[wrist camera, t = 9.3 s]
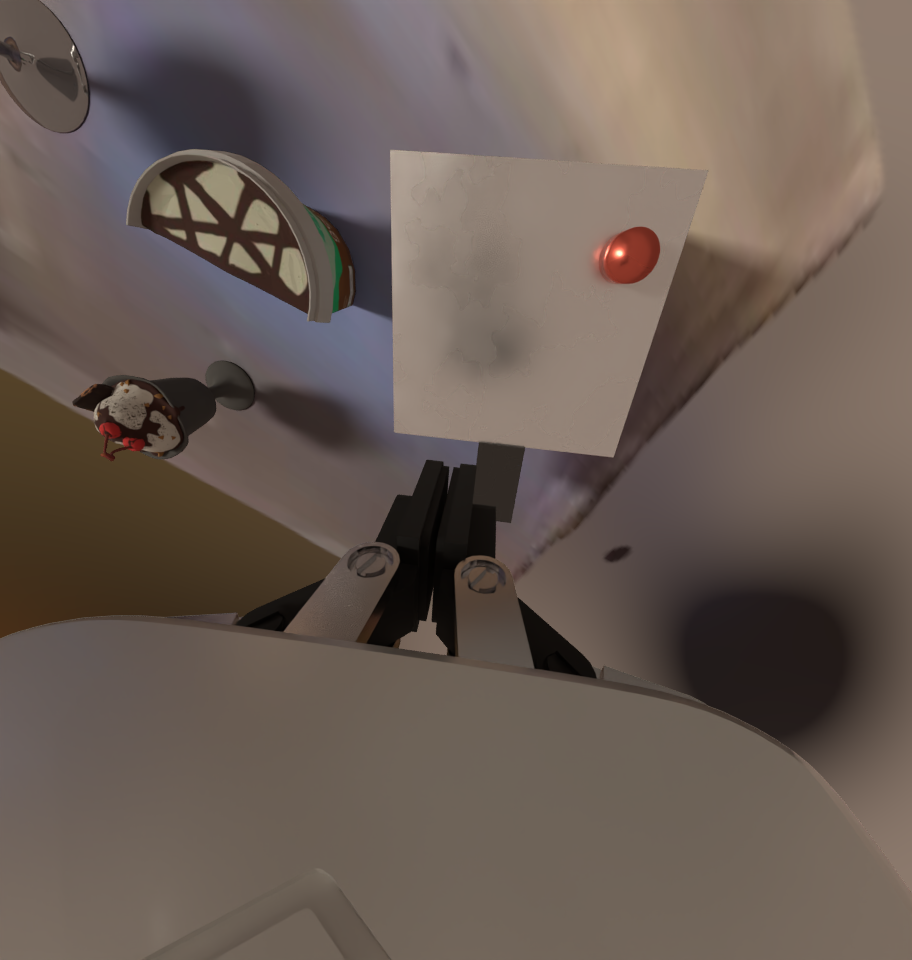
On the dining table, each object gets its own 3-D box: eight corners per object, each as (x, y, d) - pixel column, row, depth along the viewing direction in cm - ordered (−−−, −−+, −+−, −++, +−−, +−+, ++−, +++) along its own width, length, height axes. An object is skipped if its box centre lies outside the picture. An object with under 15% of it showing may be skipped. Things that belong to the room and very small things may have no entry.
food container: (394, 237, 28) (345, 216, 19) (368, 314, 31) (316, 325, 22) (243, 149, 26) (115, 82, 18) (231, 238, 29) (116, 219, 20)
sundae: (273, 414, 36) (147, 486, 23) (217, 420, 38) (66, 493, 25) (247, 347, 33) (83, 387, 20) (186, 356, 34) (-6, 400, 21)
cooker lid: (396, 157, 18) (378, 136, 15) (695, 177, 17) (731, 158, 14) (399, 498, 28) (388, 520, 25) (585, 521, 27) (594, 547, 24)
